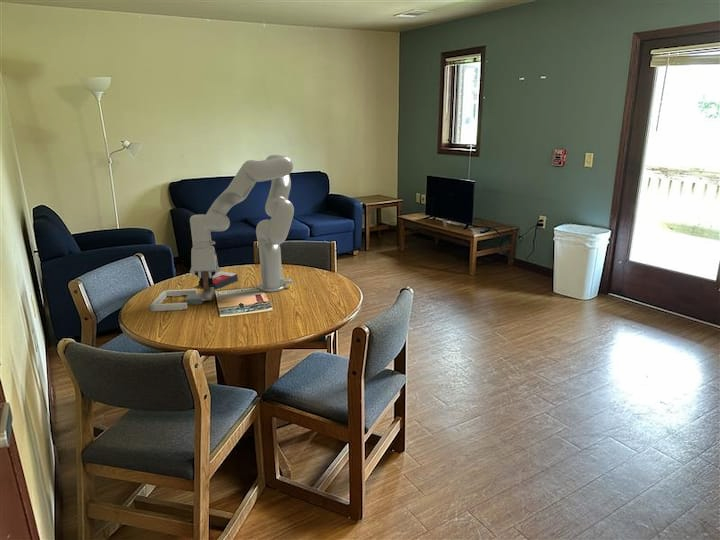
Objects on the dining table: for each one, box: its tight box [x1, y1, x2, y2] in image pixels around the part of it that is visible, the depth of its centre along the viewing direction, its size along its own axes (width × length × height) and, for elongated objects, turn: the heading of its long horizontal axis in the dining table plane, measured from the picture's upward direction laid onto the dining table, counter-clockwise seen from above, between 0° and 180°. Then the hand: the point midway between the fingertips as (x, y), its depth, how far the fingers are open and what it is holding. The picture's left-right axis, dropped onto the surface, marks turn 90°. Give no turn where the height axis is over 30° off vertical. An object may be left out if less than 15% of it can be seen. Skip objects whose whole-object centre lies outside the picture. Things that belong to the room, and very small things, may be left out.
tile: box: [184, 293, 205, 305], centre depth 213 cm, size 7×7×2 cm
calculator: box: [198, 270, 239, 290], centre depth 236 cm, size 11×4×15 cm
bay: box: [149, 288, 198, 312], centre depth 212 cm, size 14×19×2 cm
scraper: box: [200, 271, 216, 301], centre depth 211 cm, size 4×8×12 cm, turn 5°
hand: (206, 286), depth 212 cm, fingers closed on scraper, 2 cm apart
